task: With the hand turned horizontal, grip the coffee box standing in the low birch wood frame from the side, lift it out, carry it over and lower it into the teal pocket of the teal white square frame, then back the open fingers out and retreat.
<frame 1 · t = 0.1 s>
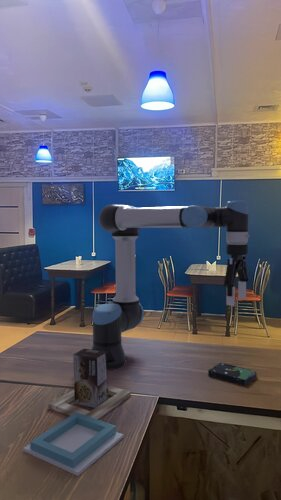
hand: (236, 301, 136), 28 cm above the table, tool pointing down, fingers open, 13 cm apart
birch frame: (91, 402, 119), on the table
disk drive: (232, 378, 139), on the table
teal white square frame: (74, 443, 96), on the table
coffee box: (91, 402, 119), resting in birch frame
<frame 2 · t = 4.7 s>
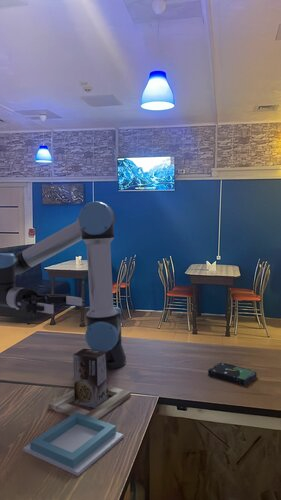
hand: (67, 305, 122), 30 cm above the table, tool horizontal, fingers open, 13 cm apart
nothing on the table moved.
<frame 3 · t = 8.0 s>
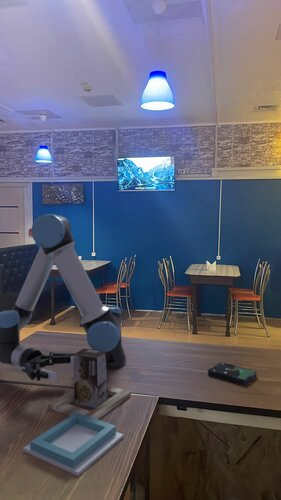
hand: (72, 370, 122), 9 cm above the table, tool horizontal, fingers open, 13 cm apart
nothing on the table moved.
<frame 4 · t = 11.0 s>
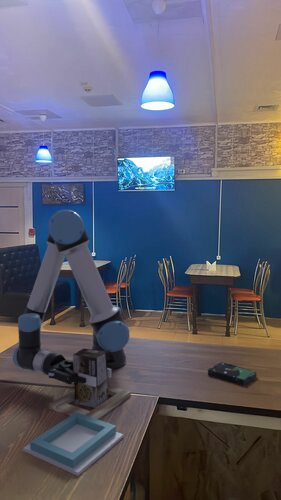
hand: (103, 377, 116), 9 cm above the table, tool horizontal, fingers closed on coffee box, 7 cm apart
coffee box: (91, 402, 119), resting in birch frame, touching gripper
everything else where it was.
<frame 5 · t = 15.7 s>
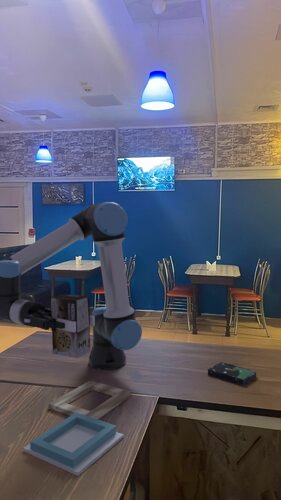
hand: (84, 324, 102), 29 cm above the table, tool horizontal, fingers closed on coffee box, 7 cm apart
coffee box: (71, 353, 106), point 20 cm above the table, touching gripper
everything else where it was.
when the fingers open (11 cm above the table, at t = 20.5 s): coffee box drops 1 cm, resting on teal white square frame.
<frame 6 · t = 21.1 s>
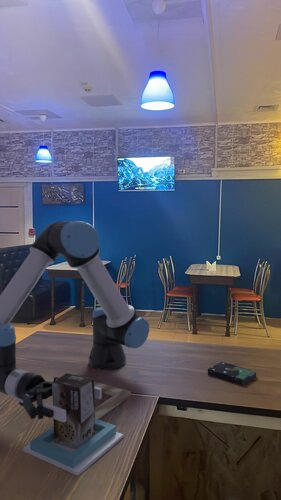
hand: (84, 404, 94), 11 cm above the table, tool horizontal, fingers open, 13 cm apart
coffee box: (74, 441, 96), point 1 cm above the table, touching teal white square frame
everything else where it was.
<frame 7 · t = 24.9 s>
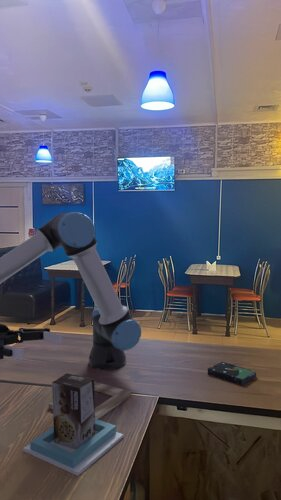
hand: (43, 346, 99), 24 cm above the table, tool horizontal, fingers open, 13 cm apart
nothing on the table moved.
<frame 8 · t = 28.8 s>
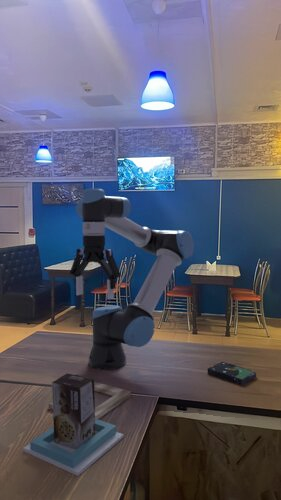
hand: (94, 296, 128), 32 cm above the table, tool pointing down, fingers open, 13 cm apart
nothing on the table moved.
at the end: coffee box 0.1 cm off-centre on the teal white square frame, point 0.6 cm above the teal white square frame's base; coffee box tilted 0°; the gripper is holding nothing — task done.
